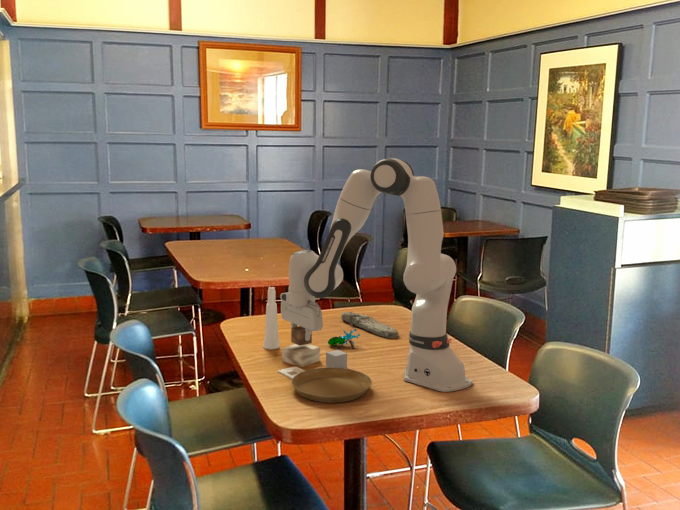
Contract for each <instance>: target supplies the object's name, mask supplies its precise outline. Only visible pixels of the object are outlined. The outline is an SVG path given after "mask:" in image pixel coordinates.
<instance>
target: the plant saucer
mask: <svg viewBox="0 0 680 510" xmlns="http://www.w3.org/2000/svg"><path fill="white" fill-rule="evenodd" d="M372 381H373V380H372V379H371V378H370V376H368V374H366V373H364V372H361V371H359V370H355V369H350V368H328V367H320V368H311V369H307V370H304V372H301V373H299V374H297V375H296V376H294V377H293V379H291V386H292V387H293V390H294V391H295V392H296V393H297V394H299V395H300V396H301V397H304V398H305V399H307V400H310V401H313V400H314V401H313V402H318V401H319V403H327V402H328V403H329V404H330V403H333V404H335V403H337V402H338V403H344V402H350V401H353V400H357V399H358V398H361V397H362V396H363V395H364V394H366V393H367V392H368V391H369V389H370V388H371V386H372V383H373V382H372Z"/></svg>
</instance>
